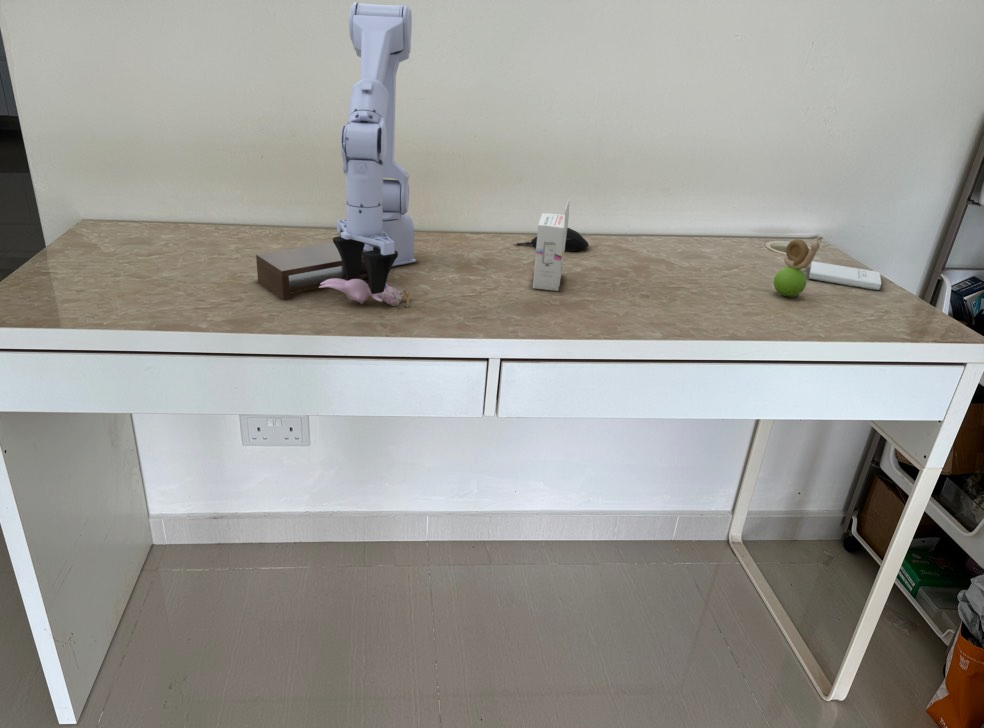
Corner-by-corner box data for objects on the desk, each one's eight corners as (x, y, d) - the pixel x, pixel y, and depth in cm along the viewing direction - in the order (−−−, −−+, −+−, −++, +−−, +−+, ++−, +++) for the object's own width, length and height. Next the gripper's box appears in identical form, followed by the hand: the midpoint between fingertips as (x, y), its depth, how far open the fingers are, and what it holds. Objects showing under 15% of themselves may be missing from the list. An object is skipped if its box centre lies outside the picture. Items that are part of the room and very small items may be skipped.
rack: (347, 265, 145) (346, 239, 142) (375, 281, 138) (375, 254, 136) (258, 282, 135) (255, 254, 133) (283, 299, 128) (281, 271, 126)
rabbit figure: (407, 304, 132) (320, 288, 131) (413, 272, 130) (325, 255, 128) (406, 318, 127) (315, 301, 125) (413, 285, 124) (320, 267, 122)
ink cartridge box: (535, 273, 145) (543, 195, 138) (561, 276, 145) (571, 197, 138) (530, 288, 138) (539, 207, 131) (558, 291, 137) (568, 209, 130)
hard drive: (809, 268, 156) (877, 278, 152) (808, 279, 149) (879, 291, 145) (811, 260, 155) (879, 270, 151) (810, 271, 149) (881, 283, 144)
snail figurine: (792, 304, 137) (810, 238, 131) (764, 292, 142) (780, 228, 136) (813, 300, 139) (832, 235, 133) (784, 289, 144) (801, 225, 138)
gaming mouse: (516, 240, 164) (517, 222, 162) (585, 243, 164) (588, 225, 162) (518, 249, 158) (519, 230, 157) (589, 252, 159) (592, 233, 157)
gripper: (319, 195, 124) (322, 276, 130) (366, 217, 113) (367, 303, 120) (357, 191, 127) (358, 270, 134) (406, 211, 117) (404, 295, 124)
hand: (365, 285), depth 127 cm, fingers open, 7 cm apart
